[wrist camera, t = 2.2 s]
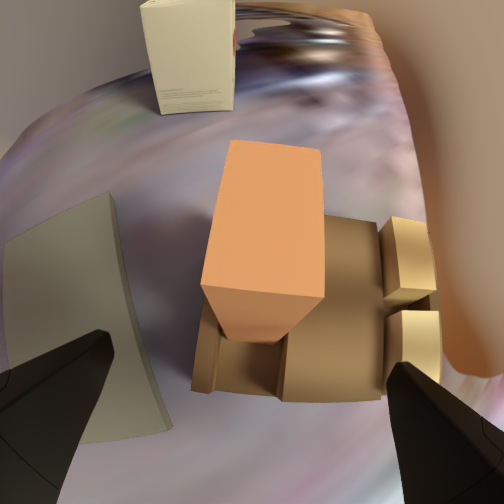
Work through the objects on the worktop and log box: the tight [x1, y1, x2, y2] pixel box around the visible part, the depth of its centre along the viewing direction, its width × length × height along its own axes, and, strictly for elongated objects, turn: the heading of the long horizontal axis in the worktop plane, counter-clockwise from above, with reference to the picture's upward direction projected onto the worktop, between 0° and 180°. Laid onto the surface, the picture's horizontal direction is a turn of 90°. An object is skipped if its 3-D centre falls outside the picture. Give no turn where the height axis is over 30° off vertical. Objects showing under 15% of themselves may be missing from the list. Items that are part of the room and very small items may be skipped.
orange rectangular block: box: [200, 140, 325, 345], centre depth 13 cm, size 5×3×12 cm, turn 174°
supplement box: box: [140, 0, 235, 115], centre depth 24 cm, size 9×9×15 cm
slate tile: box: [2, 192, 173, 445], centre depth 17 cm, size 20×14×2 cm
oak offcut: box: [378, 216, 436, 308], centre depth 17 cm, size 5×3×4 cm, turn 174°
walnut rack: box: [191, 215, 442, 403], centre depth 17 cm, size 12×16×4 cm
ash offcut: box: [381, 310, 440, 394], centre depth 15 cm, size 5×3×4 cm, turn 174°
